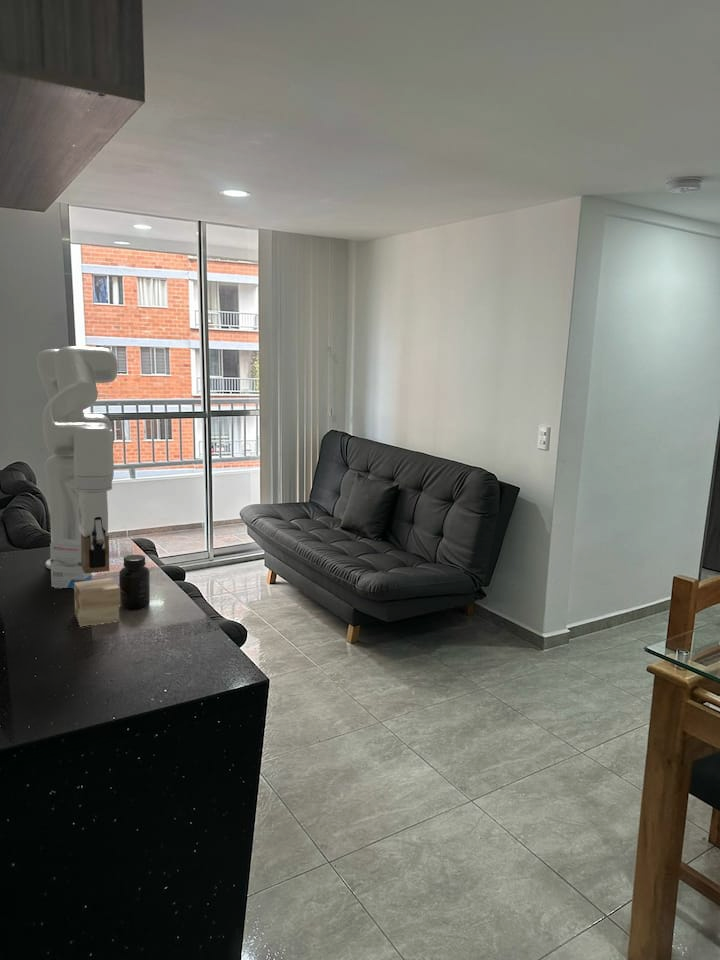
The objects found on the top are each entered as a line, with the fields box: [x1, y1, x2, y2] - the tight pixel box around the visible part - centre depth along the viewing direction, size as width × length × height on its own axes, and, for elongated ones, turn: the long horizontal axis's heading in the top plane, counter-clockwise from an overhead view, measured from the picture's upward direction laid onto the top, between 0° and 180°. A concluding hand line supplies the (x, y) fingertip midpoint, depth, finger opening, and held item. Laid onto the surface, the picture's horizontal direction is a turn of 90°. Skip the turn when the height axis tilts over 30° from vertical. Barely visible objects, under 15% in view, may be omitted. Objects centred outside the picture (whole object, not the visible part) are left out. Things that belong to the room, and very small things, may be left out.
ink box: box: [49, 539, 93, 590], centre depth 166 cm, size 8×5×12 cm, turn 84°
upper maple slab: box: [73, 577, 120, 611], centre depth 146 cm, size 8×8×4 cm
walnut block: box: [81, 533, 110, 574], centre depth 144 cm, size 5×5×8 cm
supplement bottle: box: [118, 554, 151, 611], centre depth 154 cm, size 7×7×12 cm
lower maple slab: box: [74, 600, 120, 628], centre depth 146 cm, size 8×8×4 cm
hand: (95, 562), depth 144 cm, fingers closed on walnut block, 5 cm apart
